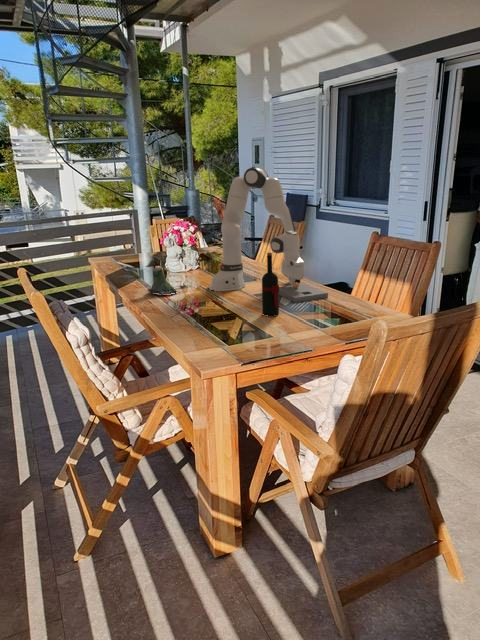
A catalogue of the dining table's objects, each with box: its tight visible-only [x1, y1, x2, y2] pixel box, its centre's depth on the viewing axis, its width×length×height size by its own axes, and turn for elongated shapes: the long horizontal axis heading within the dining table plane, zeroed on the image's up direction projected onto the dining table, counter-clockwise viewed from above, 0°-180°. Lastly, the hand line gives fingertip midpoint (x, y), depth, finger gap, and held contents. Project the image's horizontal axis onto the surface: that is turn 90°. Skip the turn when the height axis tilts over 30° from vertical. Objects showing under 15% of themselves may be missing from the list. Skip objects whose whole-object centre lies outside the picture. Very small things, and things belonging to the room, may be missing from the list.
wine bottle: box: [261, 252, 280, 317], centre depth 227 cm, size 8×10×30 cm
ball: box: [293, 282, 300, 288], centre depth 269 cm, size 4×4×4 cm
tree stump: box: [147, 266, 177, 294], centre depth 279 cm, size 18×20×18 cm
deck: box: [278, 283, 329, 303], centre depth 265 cm, size 20×25×2 cm
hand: (292, 284), depth 273 cm, fingers closed
